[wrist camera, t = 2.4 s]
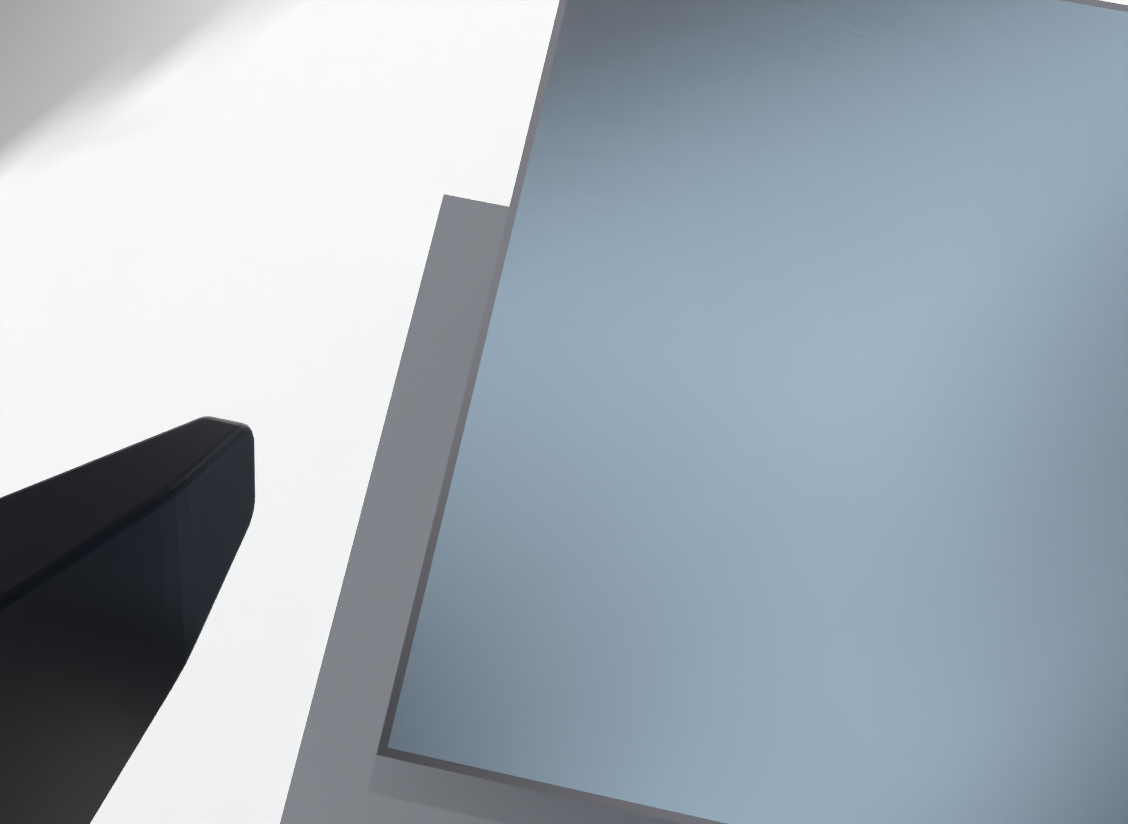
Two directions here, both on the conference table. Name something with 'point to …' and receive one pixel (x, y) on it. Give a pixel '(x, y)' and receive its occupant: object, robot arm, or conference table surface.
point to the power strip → (411, 574)
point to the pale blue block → (797, 424)
